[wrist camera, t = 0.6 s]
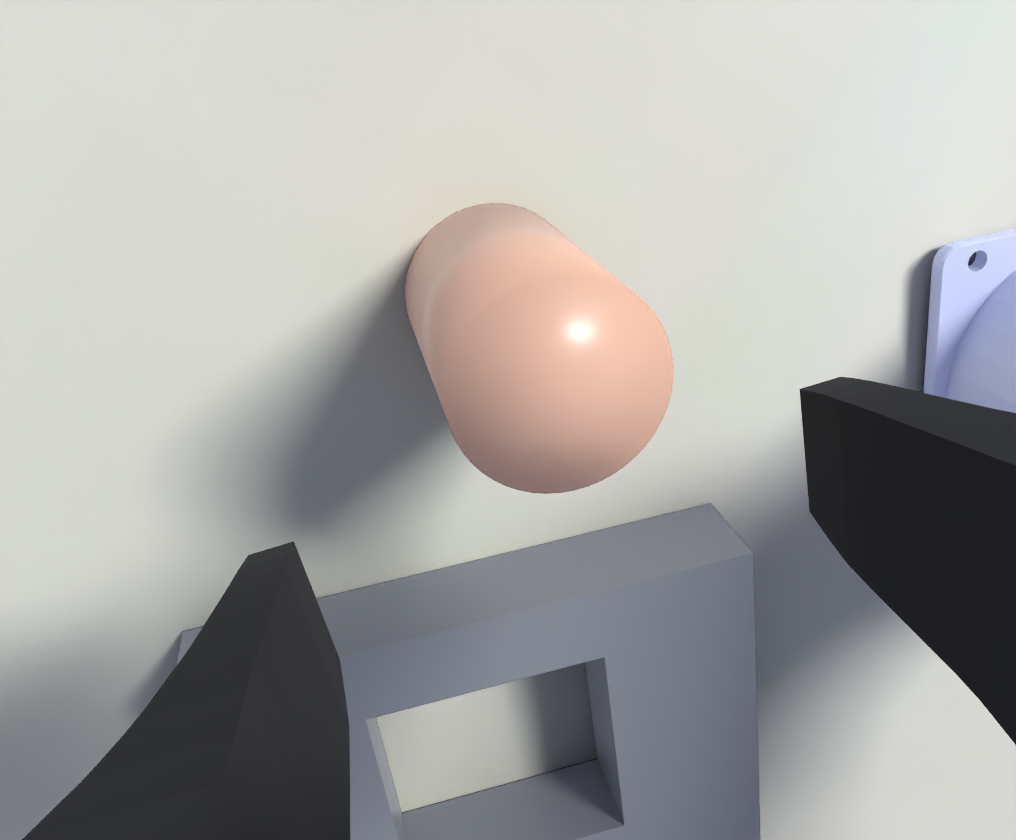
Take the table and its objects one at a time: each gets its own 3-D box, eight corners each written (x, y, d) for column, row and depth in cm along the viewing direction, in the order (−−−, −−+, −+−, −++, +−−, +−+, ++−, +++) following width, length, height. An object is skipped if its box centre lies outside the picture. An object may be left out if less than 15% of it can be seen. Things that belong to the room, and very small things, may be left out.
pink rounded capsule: (566, 188, 20) (666, 251, 15) (585, 354, 22) (679, 465, 16) (389, 221, 20) (425, 300, 14) (422, 389, 21) (465, 516, 16)
